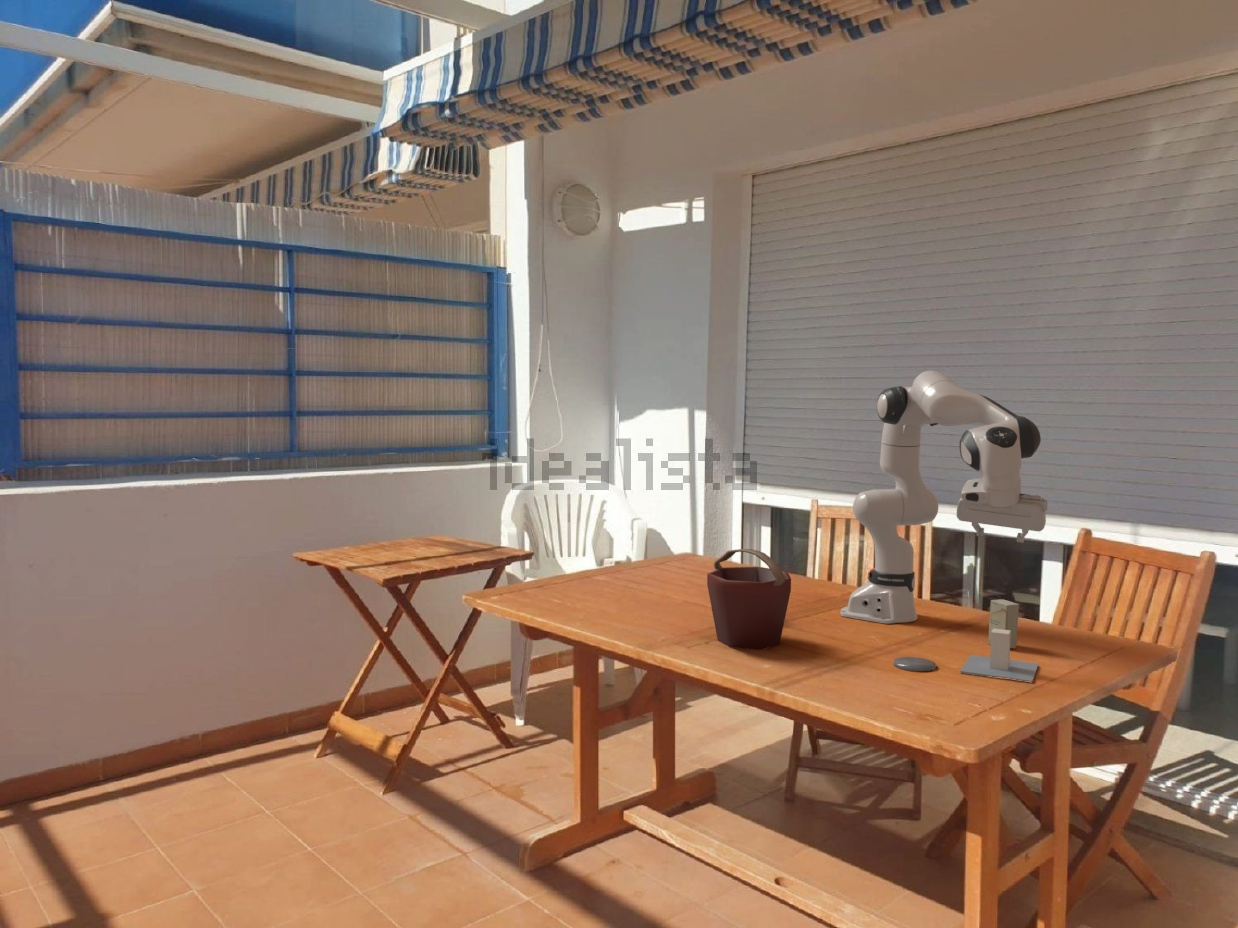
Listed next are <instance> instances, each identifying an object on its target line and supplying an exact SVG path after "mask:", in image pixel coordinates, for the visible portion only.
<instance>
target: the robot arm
mask: <svg viewBox="0 0 1238 928" xmlns="http://www.w3.org/2000/svg"><path fill="white" fill-rule="evenodd" d="M911 385H912V386H902V385H899V386H893V387H889V388H886V389H884V390H882V391H881V393H880V394H879V395H878V397H877V401H876V411H877V416H878V418H879V419H880V420H881V422H883V426H882V427H883V428H882V434H881V440H880V441H881V442H880V443H881V444H880V455H879V467H880V469H881V471H882V472H883V473H884V475H886V476H888V477H889V478H892V479H894V482H895V488H879V489H878V488H877V489H876V488H875V489H870V490H866V491H861V492H859V493H858V494H857V495H856V496H855V498H854V500H853V504H852V508H853V509H852V511H853V515H854V517H855V518H856V520H857V521H858V522H859V523H860V524H861V525H862V526H863V527H864V528H865V529H867V530H868V531H867V532H868V533H869V534H870V536H871V538H872V541H873V547H874V559H875V560H874V564H875V565H874V567H872V568H871V569H870V570H869V571H868V572H867V579H868V580H867V581H866V582H865V583H863V584H862V585H860V587H857V589H855V590H854V591H853V592H852V593H850V596H849V598H848V603H847V605H846V606H844V607H842V608H841V609H840V616H841V617H843V618H844V617H845V618H850V619H855V620H856V619H857V620H863V621H868V622H874V623H881V624H889V625H890V624H897V623H910V622H914V621H917V620H918V614H917V611H916V605H915V597H914V596H915V594H914V591H915V588H916V587H915V586H916V577H915V576H916V575H915V572H914V559H915V558H914V553H915V550H914V547H913V545H912V543H911V542H910V541H909V540H907V539H906V538H903V537H901V536H900V535H899V534H898V531H897V530H898V529H897V528H898V527H897V526H919V525H923V524H927V523H931V522H933V521H934V520H935V518H936V517H937V515H938V512H939V501H938V499H937V496H936V495H935V494H934V492H932V491H930V490H929V488H928V487H927V486H926V485H925V483H924V481H923V479H922V476H921V473H920V454H921V453H920V451H921V449H920V448H921V434H922V433H921V431H922V427H923V426H925V425H930V426H931V427H933V426H937V425H941V426H945V427H953V426H962V425H969V424H970V425H971V424H972V425H973V424H975V425H976V424H977V425H978V424H979V425H980V424H982V425H981V426H978V427H977V426H976V427H973V428H970V429H967V430H965V431H964V432H963V433H962V435H961V438H960V440H959V455H960V458H961V460H962V461H963V462H964V464H966V465H967V466H968V467H970V468H972V469H973V470H975V471H976V472H980V473H981V477H979V478H972V479H968V480H967V481H966V482H965V483H964V484H963V486H962V489H961V493H960V498H959V500H958V503H957V507H956V518H957V519H958V521H960V522H966V523H971V526H972V528H973V529H974V530H975V533H976V535H975V536H976V537H982V538H983V537H984V535H985V527H981V525H989V526H996V527H1002V528H1010V529H1018V530H1021V532H1017V535H1016V543H1022V544H1024V542H1025V537H1026V536H1027V535H1028V534H1029V531H1032V532H1042V531H1043V530H1044V529H1045V526H1046V524H1047V523H1046V521H1047V517H1046V515H1047V514H1046V512H1047V510H1048V501H1047V500H1046V499H1045V498H1043V497H1041V495H1038V494H1037V495H1032V494H1029V493H1021V492H1022V491H1021V490H1022V487H1021V486H1022V480H1021V476H1020V471H1021V469H1022V459H1029V458H1032V456H1033V455H1034V454H1035V453H1036V452H1037V451H1038V449H1039V446H1040V445H1041V438H1042V437H1041V433H1040V430H1039V428H1038V426H1037V425H1036V424H1035V423H1034V422H1033V421H1031V420H1030V419H1029V418H1027V417H1025V416H1022V415H1019V414H1018V415H1017V414H1016V413H1013V412H1012V411H1011V410H1009V409H1008V408H1006V407H1005V406H1003V405H1001V404H1000V403H998V402H997V401H996V400H993V399H991V398H989V397H988V396H985V395H982V394H978V393H975V392H972V391H970V390H967V389H964V388H962V387H960V386H959V385H957V383H955V382H954V380H952V379H951V378H949V377H948V376H946V375H945V374H943V373H941V372H940V371H939V372H938V371H937V370H925V371H923V372H921V373H919V374H918V375H917V376H916V377H915V378H914V380H913V382H912V384H911ZM980 524H981V525H980Z"/></svg>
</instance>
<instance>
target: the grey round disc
mask: <svg viewBox="0 0 1238 928" xmlns="http://www.w3.org/2000/svg"><path fill="white" fill-rule="evenodd" d="M893 666H894V667H896V668H897V667H898V669H899V670H904V671H909V672H914V671H928V672H932V671H931V670H933V669H935V668H936V669H937V664H936V662H934V661H933V660H930V659H927V658H924V657H917V656H902V657H897V658H894V660H893ZM933 671H934V670H933Z"/></svg>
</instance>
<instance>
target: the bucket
mask: <svg viewBox="0 0 1238 928" xmlns="http://www.w3.org/2000/svg"><path fill="white" fill-rule="evenodd" d="M741 552H742V553H747V554H751V555H754V556H755V557H757V558H759V560H761V561H762V562H763V563H764V564H765V565H766V566H767V567H763V566H739V567H737V566H735V567H733V566H730V567H727V566H726V567H725V566H724V567H723V566H722V565H721V563H723V562H726V561H728V560H729V559H730V558H732V557H733V556H734V555H735V554H736V553H741ZM713 566H714V567H713V568H714V569H715V570H713V571H711V572H708V573H707V575H706V579H707V582H706V585H707V591H708V595H709V601H710V602H709V603H710V606H711V613H712V617H713V622H714V628H715V633H716V639H717V641H718V642H719V643H721V644H723V645H724V646H727V647H729V648H732V649H741V648H742V649H741V650H752V651H753V650H754V651H761V650H766V649H771V648H775V647H780V644H781V641H782V640H781V639H782V635H783V630H784V625H785V620H786V615H787V611H788V606H789V600H790V596H791V591H792V578H791V576H790V573H789V571H786V570H782V569H781V567H780V566H779V564H778V563H777V562H775V560H774V559H772V558H771V557H770V556H769V555H768V554H766V553H765V552H762V551H760V550H757V549H752V548H740V549H730V550H727V551H726V552H724V554H722V555H721V556H719V558H717V559H716V560H715V561H714V562H713ZM765 648H766V649H765Z"/></svg>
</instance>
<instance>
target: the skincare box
mask: <svg viewBox="0 0 1238 928" xmlns="http://www.w3.org/2000/svg"><path fill="white" fill-rule="evenodd" d="M989 609H990V610H989V625H988V639H987V643H988V645H990V646H991V631H992V630H993V628H994V629H1002V630H1011V636H1010V648H1014V649H1017V642H1018V641H1017V640H1018V639H1017V638H1018V627H1019V626H1018V625H1019V609H1020V604H1019V603H1016V602H1013V601H1010V600H1006V599H1004V598H1003V599H1001V598H999V599H991V600H990V606H989Z"/></svg>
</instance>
